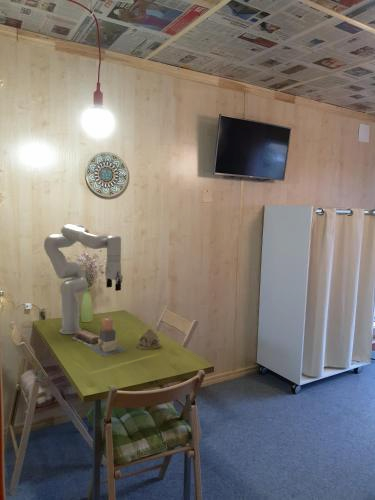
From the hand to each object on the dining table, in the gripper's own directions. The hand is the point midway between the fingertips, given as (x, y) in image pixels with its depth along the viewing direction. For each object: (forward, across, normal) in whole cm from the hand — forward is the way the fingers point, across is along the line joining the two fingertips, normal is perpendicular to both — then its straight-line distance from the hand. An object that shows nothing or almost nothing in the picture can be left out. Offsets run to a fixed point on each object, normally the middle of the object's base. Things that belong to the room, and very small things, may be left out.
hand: (113, 288), depth 209 cm
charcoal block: (+24, +10, -9) cm, 28 cm away
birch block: (+29, +10, -9) cm, 32 cm away
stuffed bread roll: (+31, +18, +12) cm, 38 cm away
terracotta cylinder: (+19, +10, -9) cm, 23 cm away
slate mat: (+30, +10, -9) cm, 33 cm away
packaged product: (+31, -9, -11) cm, 34 cm away
